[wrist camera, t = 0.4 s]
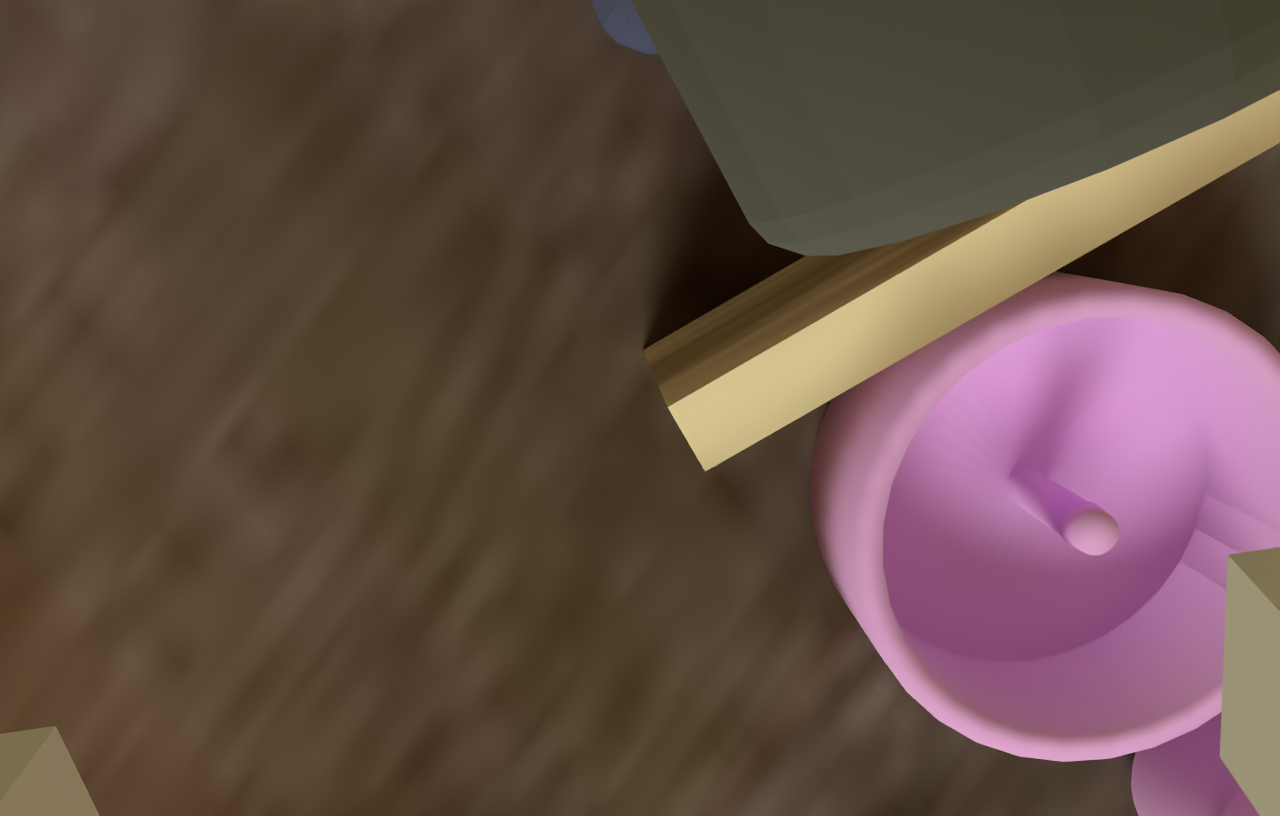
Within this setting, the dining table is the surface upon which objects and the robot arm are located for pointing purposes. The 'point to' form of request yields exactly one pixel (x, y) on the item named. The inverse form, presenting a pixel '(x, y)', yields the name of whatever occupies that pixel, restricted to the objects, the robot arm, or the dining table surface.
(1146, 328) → the container set
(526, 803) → the dining table surface
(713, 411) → the pine rack
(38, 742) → the robot arm
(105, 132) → the dining table surface
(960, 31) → the rubber mallet
